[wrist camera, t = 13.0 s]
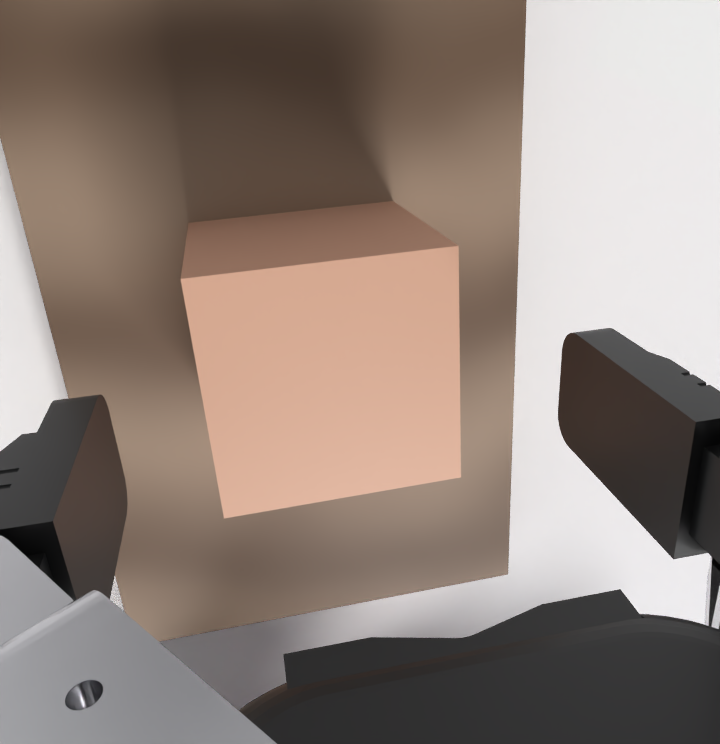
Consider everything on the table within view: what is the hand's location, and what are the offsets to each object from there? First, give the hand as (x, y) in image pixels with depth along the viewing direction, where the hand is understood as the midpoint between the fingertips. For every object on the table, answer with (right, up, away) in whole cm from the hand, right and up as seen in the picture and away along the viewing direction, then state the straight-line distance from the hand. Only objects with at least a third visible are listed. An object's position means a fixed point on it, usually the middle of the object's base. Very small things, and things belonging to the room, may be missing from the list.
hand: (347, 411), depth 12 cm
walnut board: (-2, +3, +7) cm, 8 cm away
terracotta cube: (-1, +2, +6) cm, 6 cm away
